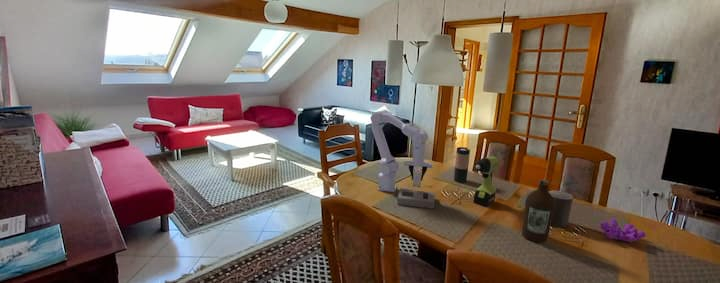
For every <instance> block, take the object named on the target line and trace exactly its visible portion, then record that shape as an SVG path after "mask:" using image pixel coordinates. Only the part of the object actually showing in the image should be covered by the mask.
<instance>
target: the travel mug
mask: <svg viewBox="0 0 720 283" xmlns="http://www.w3.org/2000/svg"><path fill="white" fill-rule="evenodd" d="M470 154H471V149H468V147H463V146H462V147H460V146H459V147H456V153H455V160H454V175H453V180H454V182H456V183H459V184H464V183H465V184H466V182H467V178H468V171H469V166H470V165H469V164H470V163H469V162H470V156H471V155H470Z"/></svg>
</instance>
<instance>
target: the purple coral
mask: <svg viewBox="0 0 720 283" xmlns="http://www.w3.org/2000/svg"><path fill="white" fill-rule="evenodd" d="M599 226H600V228H601V229H602V231H603V232H604V234H605V236H606V237H608V238H610V239H611V240H616V241H617V240H619V241H623V242H636V241H637V240H642V239H643V238H645V237H646V236H647V234H646V233H645V232H644V231H643V230H638V229H637V228H635V226H634V225H633V224H631V223H627V224H626V225H625V226H624V227H623V228H621V226H618V221H617V220H616V219H609V223H608V221H606V220H605V221H601V222H600V224H599Z"/></svg>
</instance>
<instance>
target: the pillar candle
mask: <svg viewBox="0 0 720 283" xmlns="http://www.w3.org/2000/svg"><path fill="white" fill-rule="evenodd" d="M548 192H549V193H550V194H551V196H552V197H553V198H554V200H555V211H554V214H553V218H552V222H551V226H552V227H555V228H567V227H568V225H569V220H570V219H569V218H570V214H571V210H572V206H573V205H572V204H573V200H574V196H573V195H572V194H570V193H567V192H565V191H560V190H550V191H549V190H548ZM551 226H550V227H551Z"/></svg>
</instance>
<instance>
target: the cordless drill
mask: <svg viewBox="0 0 720 283" xmlns="http://www.w3.org/2000/svg"><path fill="white" fill-rule="evenodd" d="M500 165H501V164H500V161H499V158H498V157H496V156H487V157H482V158H480V159H479V160H478V161H477V162H475V164H474V170H475V171H477V172H480V173H481V175H482V178H483V179H482V180H483V181H482V184H481V185H480V186H479V187H477V188H476V190H475V192H474V195H473V202H472V203H473V204H475V205H478V206H481V207H483V208H488V207H489V206H491V205H492V204H493V203H494V202H495V198H496V191H497V188H495V186H493V184H492V181H493V172H494V171H496V170H497V169H499V167H500Z"/></svg>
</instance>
